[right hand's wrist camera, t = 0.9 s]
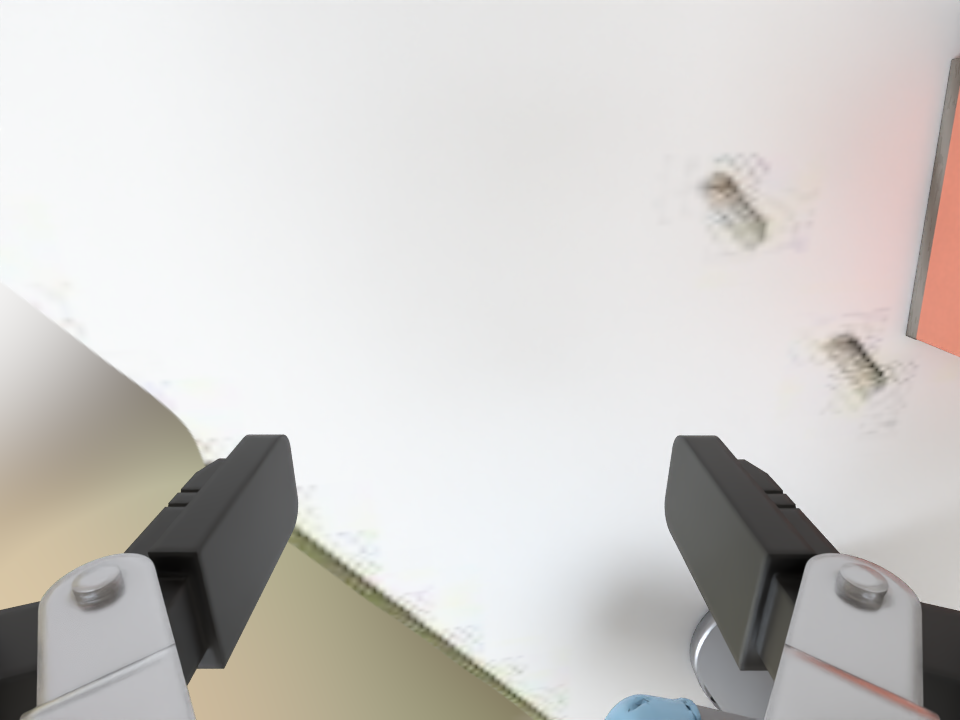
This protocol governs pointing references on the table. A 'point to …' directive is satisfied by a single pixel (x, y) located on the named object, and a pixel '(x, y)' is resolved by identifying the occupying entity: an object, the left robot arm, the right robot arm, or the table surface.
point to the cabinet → (941, 238)
